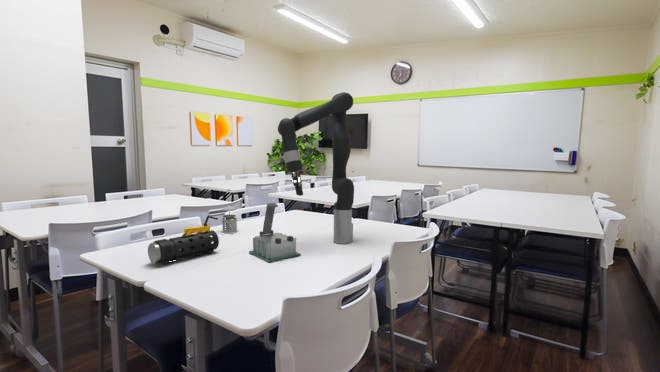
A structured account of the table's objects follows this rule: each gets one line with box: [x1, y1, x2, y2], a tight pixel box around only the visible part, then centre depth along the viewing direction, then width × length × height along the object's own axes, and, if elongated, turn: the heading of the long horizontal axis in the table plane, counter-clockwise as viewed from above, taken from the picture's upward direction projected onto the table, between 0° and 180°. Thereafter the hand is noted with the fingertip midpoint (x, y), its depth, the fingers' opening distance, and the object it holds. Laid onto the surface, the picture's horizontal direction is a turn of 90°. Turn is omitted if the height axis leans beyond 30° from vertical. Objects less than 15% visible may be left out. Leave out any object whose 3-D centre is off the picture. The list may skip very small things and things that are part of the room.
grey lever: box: [262, 202, 279, 235], centre depth 161 cm, size 4×16×3 cm
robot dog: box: [181, 215, 219, 236], centre depth 179 cm, size 6×18×13 cm, turn 126°
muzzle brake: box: [147, 229, 220, 265], centre depth 153 cm, size 10×28×10 cm, turn 142°
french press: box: [219, 188, 239, 235], centre depth 201 cm, size 10×12×25 cm
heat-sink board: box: [248, 229, 302, 264], centre depth 159 cm, size 16×18×10 cm
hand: (300, 195), depth 164 cm, fingers open, 8 cm apart
